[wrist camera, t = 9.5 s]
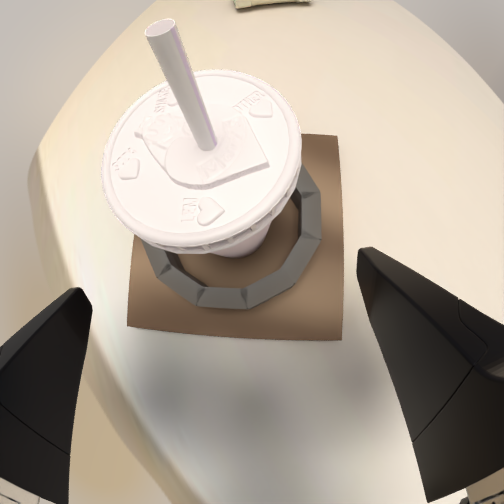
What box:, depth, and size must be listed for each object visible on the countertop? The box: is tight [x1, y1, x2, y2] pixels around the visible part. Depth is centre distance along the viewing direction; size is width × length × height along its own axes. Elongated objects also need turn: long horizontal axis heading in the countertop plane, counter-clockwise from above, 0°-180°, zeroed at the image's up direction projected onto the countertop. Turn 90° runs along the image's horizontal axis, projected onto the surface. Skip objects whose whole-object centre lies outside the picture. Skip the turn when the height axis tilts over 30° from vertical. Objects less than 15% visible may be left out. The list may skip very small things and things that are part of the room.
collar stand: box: [127, 134, 344, 340], centre depth 17 cm, size 13×13×4 cm
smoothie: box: [101, 19, 302, 258], centre depth 11 cm, size 6×6×14 cm
